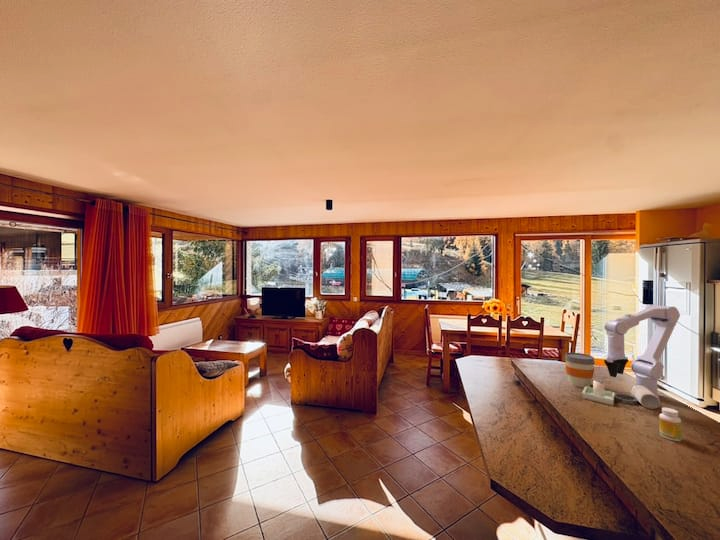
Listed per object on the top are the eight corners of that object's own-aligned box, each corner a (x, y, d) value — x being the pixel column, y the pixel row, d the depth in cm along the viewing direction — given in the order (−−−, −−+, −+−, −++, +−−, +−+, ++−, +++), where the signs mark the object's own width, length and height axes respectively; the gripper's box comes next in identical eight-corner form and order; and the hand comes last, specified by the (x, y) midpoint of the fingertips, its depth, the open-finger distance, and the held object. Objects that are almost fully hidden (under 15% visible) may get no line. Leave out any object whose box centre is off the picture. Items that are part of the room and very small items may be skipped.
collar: (613, 394, 138) (613, 391, 138) (638, 400, 132) (637, 396, 132) (612, 400, 132) (612, 397, 132) (637, 406, 126) (637, 402, 126)
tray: (585, 391, 143) (585, 386, 143) (615, 397, 135) (614, 392, 135) (581, 398, 135) (581, 392, 135) (613, 405, 127) (613, 400, 127)
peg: (591, 395, 136) (590, 378, 136) (598, 394, 137) (598, 378, 137) (599, 399, 132) (598, 382, 132) (606, 398, 133) (606, 381, 133)
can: (663, 407, 122) (651, 396, 133) (656, 392, 123) (644, 382, 134) (644, 410, 125) (634, 399, 135) (637, 395, 126) (627, 385, 136)
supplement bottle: (678, 443, 99) (677, 415, 99) (656, 435, 104) (656, 408, 104) (684, 438, 102) (683, 411, 102) (662, 431, 107) (662, 405, 107)
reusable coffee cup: (592, 382, 153) (592, 354, 153) (596, 391, 142) (596, 360, 142) (564, 378, 160) (563, 351, 160) (565, 385, 149) (565, 356, 149)
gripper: (620, 350, 129) (621, 380, 128) (633, 346, 136) (633, 374, 136) (601, 346, 135) (601, 375, 135) (614, 342, 142) (614, 370, 142)
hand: (616, 375), depth 136 cm, fingers open, 7 cm apart
